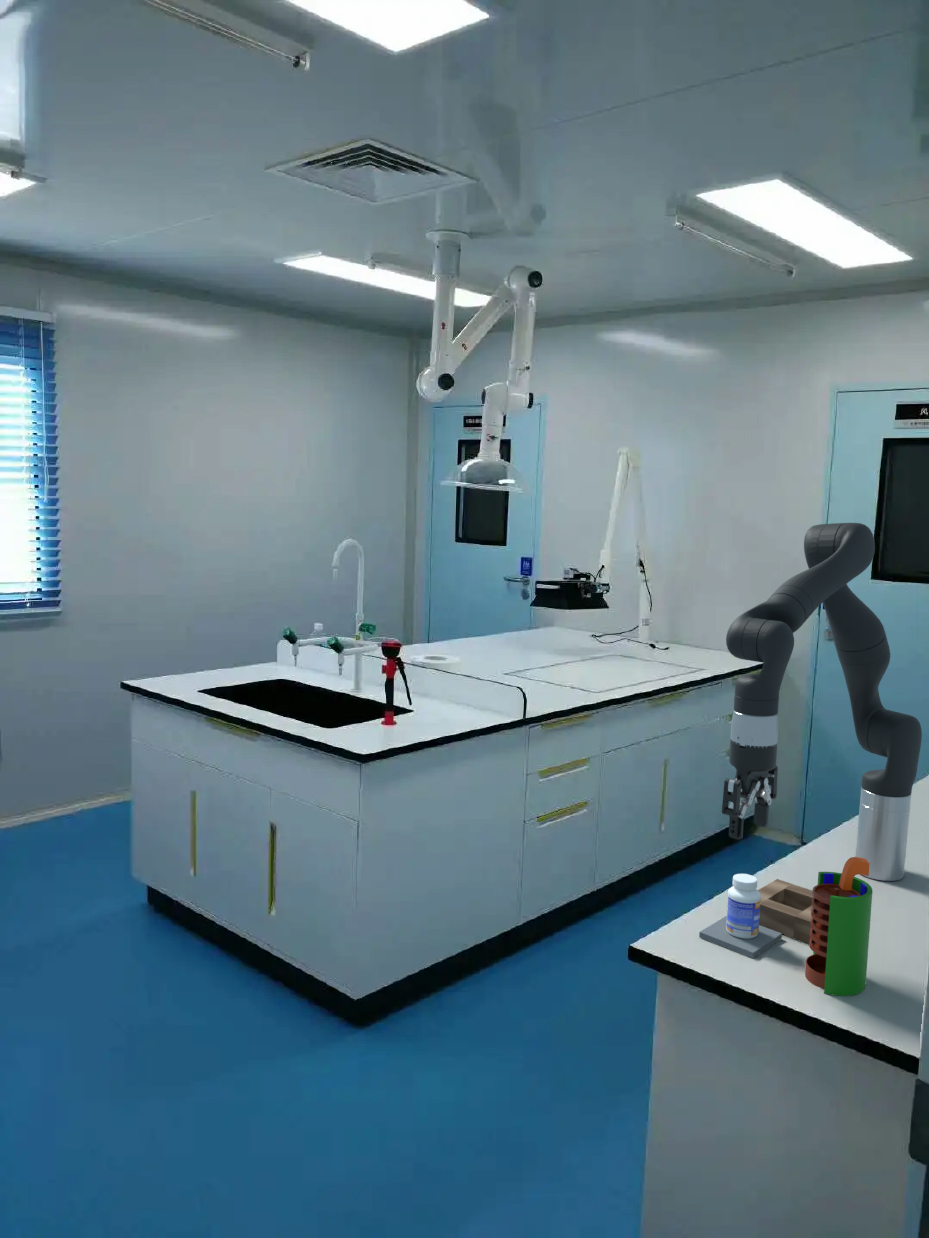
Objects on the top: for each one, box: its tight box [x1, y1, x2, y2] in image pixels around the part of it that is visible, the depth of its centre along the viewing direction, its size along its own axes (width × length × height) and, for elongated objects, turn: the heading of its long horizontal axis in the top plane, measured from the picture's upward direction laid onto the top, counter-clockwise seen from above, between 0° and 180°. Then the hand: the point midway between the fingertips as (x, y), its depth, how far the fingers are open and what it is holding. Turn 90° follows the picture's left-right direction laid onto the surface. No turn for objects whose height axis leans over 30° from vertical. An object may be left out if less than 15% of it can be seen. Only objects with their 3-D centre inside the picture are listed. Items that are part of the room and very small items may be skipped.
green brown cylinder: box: [804, 856, 873, 997], centre depth 150 cm, size 10×9×20 cm
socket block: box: [757, 878, 814, 945], centre depth 172 cm, size 13×13×4 cm
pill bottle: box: [726, 873, 761, 939], centre depth 164 cm, size 5×5×10 cm
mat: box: [698, 915, 783, 959], centre depth 165 cm, size 10×10×1 cm
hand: (748, 831), depth 162 cm, fingers open, 8 cm apart
